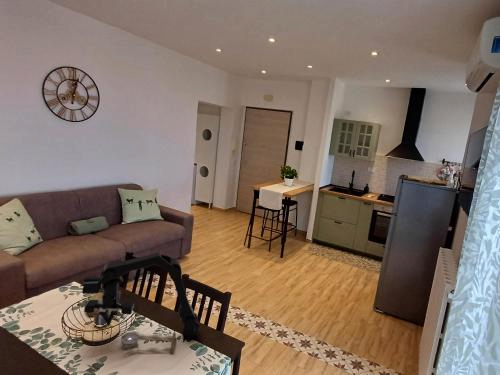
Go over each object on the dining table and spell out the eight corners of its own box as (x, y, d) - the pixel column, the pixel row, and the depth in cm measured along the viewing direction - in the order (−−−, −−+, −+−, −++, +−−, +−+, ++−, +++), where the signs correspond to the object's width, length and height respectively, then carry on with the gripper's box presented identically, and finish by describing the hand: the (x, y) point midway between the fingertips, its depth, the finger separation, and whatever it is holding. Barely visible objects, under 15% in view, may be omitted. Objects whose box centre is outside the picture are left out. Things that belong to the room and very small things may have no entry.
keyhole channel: (175, 335, 152) (176, 329, 151) (172, 357, 138) (172, 351, 137) (131, 334, 149) (131, 328, 148) (123, 356, 135) (123, 350, 134)
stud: (139, 339, 146) (139, 332, 145) (135, 350, 139) (136, 343, 138) (123, 339, 145) (123, 331, 144) (118, 350, 138) (119, 342, 137)
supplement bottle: (92, 322, 153) (93, 300, 151) (106, 319, 157) (107, 297, 154) (95, 329, 149) (96, 307, 146) (109, 326, 152) (110, 304, 150)
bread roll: (114, 302, 171) (114, 288, 169) (101, 319, 156) (101, 304, 155) (96, 300, 171) (96, 286, 169) (81, 316, 156) (81, 301, 155)
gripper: (137, 283, 145) (135, 314, 148) (93, 280, 142) (92, 312, 145) (131, 296, 134) (129, 330, 137) (84, 294, 131) (83, 328, 134)
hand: (109, 324), depth 139 cm, fingers closed
